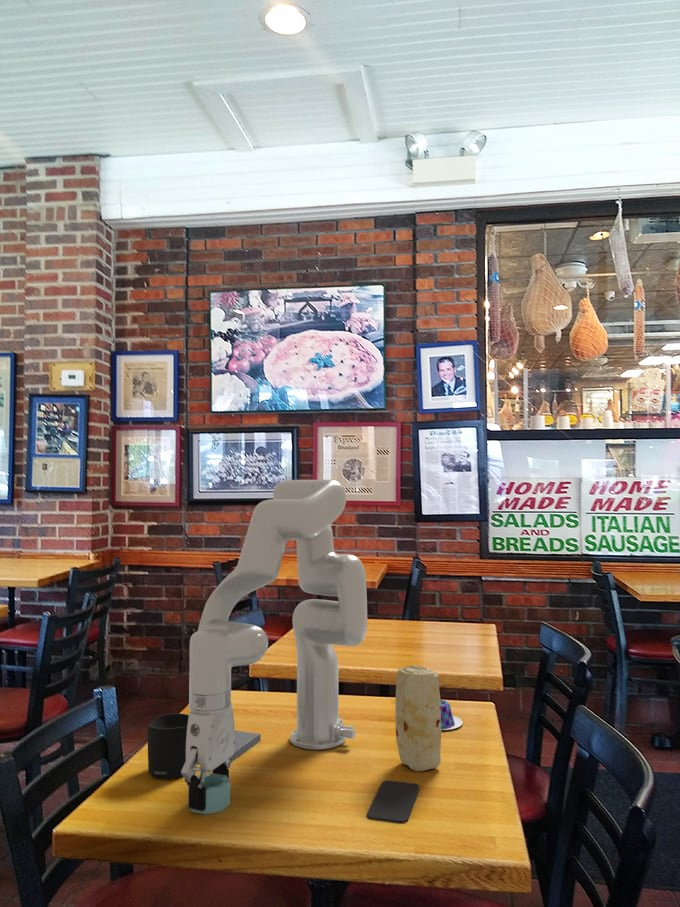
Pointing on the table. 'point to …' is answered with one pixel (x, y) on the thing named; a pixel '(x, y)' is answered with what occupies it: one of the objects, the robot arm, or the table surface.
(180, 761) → the pen holder
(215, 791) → the ring
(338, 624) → the robot arm
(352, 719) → the table surface
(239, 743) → the post stand
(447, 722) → the pudding
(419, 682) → the food model
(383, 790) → the phone
